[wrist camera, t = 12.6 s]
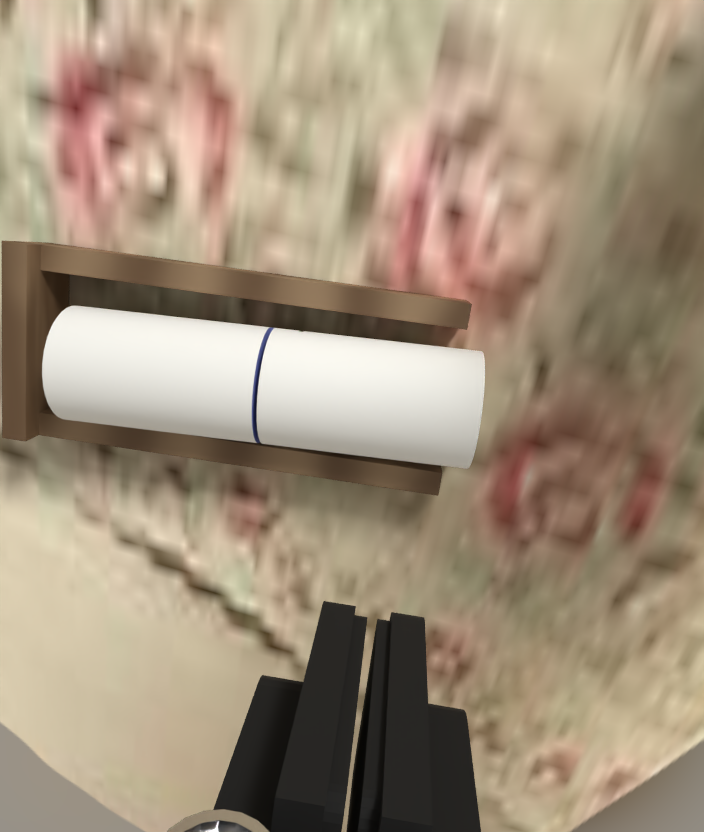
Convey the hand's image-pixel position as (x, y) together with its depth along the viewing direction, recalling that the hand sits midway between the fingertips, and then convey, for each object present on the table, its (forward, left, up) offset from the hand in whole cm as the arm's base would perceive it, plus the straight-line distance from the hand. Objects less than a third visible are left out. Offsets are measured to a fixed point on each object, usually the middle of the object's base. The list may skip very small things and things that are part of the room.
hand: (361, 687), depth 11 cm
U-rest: (+9, +1, -33) cm, 34 cm away
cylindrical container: (-5, +1, -29) cm, 30 cm away
